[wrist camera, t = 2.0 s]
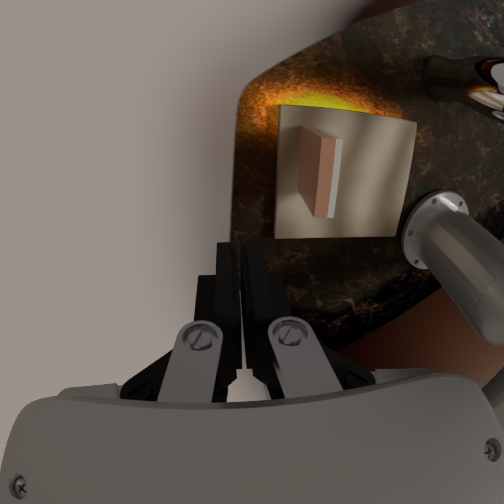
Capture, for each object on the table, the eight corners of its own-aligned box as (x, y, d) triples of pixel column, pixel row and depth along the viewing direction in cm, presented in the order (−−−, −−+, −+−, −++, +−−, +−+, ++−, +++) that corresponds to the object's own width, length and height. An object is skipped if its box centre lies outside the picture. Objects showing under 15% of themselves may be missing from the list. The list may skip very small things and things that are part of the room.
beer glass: (416, 48, 23) (513, 51, 10) (456, 57, 22) (547, 70, 10) (420, 103, 26) (515, 132, 14) (459, 107, 26) (548, 138, 14)
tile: (318, 126, 27) (343, 139, 21) (313, 189, 31) (333, 217, 25) (301, 125, 27) (321, 137, 21) (297, 189, 30) (313, 217, 25)
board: (411, 121, 28) (416, 122, 27) (391, 232, 36) (395, 236, 35) (279, 104, 26) (280, 105, 25) (273, 233, 35) (275, 238, 34)
